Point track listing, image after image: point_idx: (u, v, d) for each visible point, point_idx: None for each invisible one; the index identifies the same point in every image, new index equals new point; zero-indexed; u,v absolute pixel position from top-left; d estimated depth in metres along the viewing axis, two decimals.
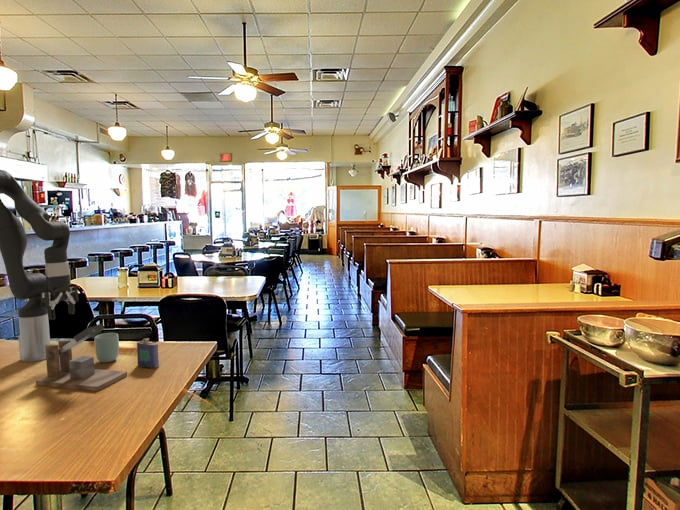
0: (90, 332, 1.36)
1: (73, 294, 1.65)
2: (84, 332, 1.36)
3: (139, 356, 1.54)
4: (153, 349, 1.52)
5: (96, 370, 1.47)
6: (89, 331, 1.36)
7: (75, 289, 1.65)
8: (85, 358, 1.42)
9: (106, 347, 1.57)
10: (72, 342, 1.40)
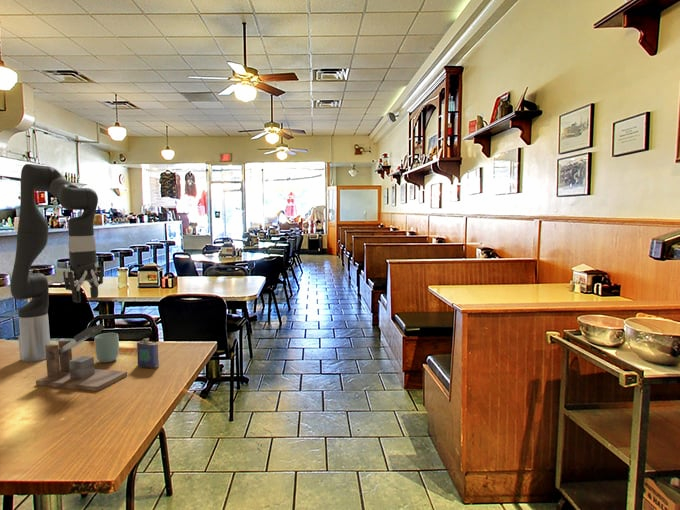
0: (90, 332, 1.36)
1: (97, 275, 1.43)
2: (84, 332, 1.36)
3: (139, 356, 1.54)
4: (153, 349, 1.52)
5: (96, 370, 1.47)
6: (89, 331, 1.36)
7: (101, 269, 1.43)
8: (85, 358, 1.42)
9: (106, 347, 1.57)
10: (72, 342, 1.40)
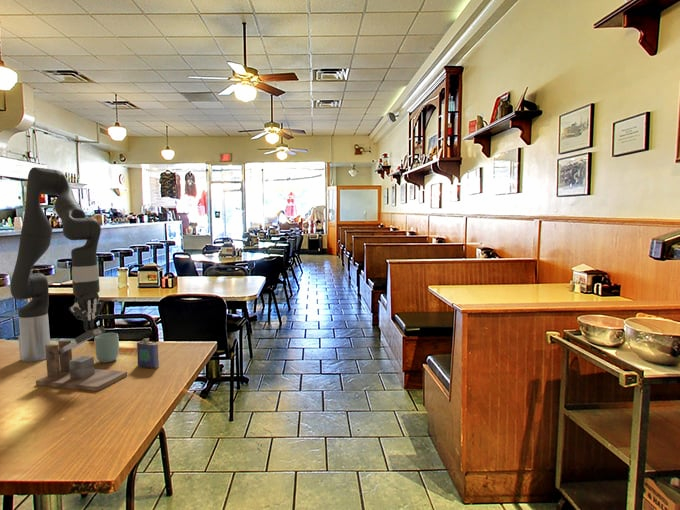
0: (91, 334, 1.36)
1: (97, 306, 1.42)
2: (85, 334, 1.36)
3: (139, 356, 1.54)
4: (153, 349, 1.52)
5: (96, 370, 1.47)
6: (90, 333, 1.36)
7: (102, 302, 1.43)
8: (85, 358, 1.42)
9: (106, 347, 1.57)
10: (73, 343, 1.40)
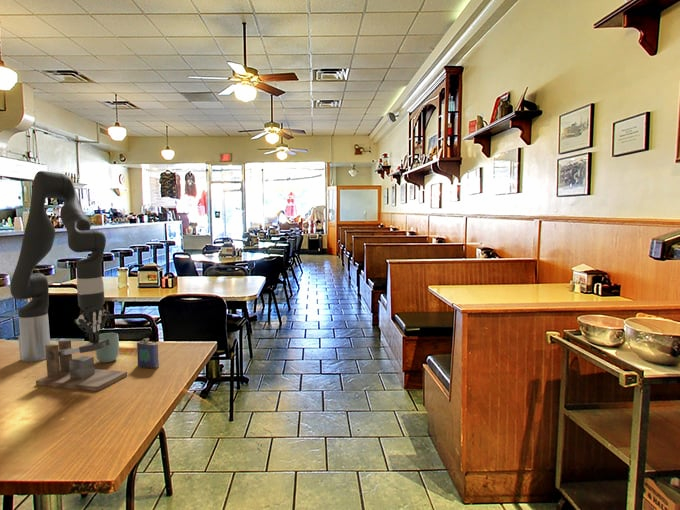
0: (96, 348, 1.36)
1: (102, 318, 1.42)
2: (90, 347, 1.36)
3: (139, 356, 1.54)
4: (153, 349, 1.52)
5: (96, 370, 1.47)
6: (95, 347, 1.36)
7: (107, 313, 1.43)
8: (85, 358, 1.42)
9: (106, 347, 1.57)
10: (75, 350, 1.40)
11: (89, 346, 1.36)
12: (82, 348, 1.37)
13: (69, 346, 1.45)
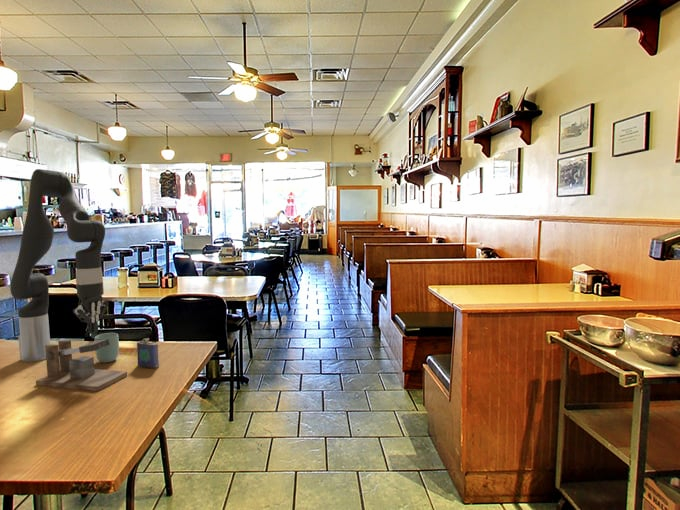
0: (96, 348, 1.36)
1: (100, 309, 1.42)
2: (90, 347, 1.36)
3: (139, 356, 1.54)
4: (153, 349, 1.52)
5: (96, 370, 1.47)
6: (95, 347, 1.36)
7: (106, 304, 1.43)
8: (85, 358, 1.42)
9: (106, 347, 1.57)
10: (75, 350, 1.40)
11: (89, 346, 1.36)
12: (82, 348, 1.37)
13: (69, 346, 1.45)
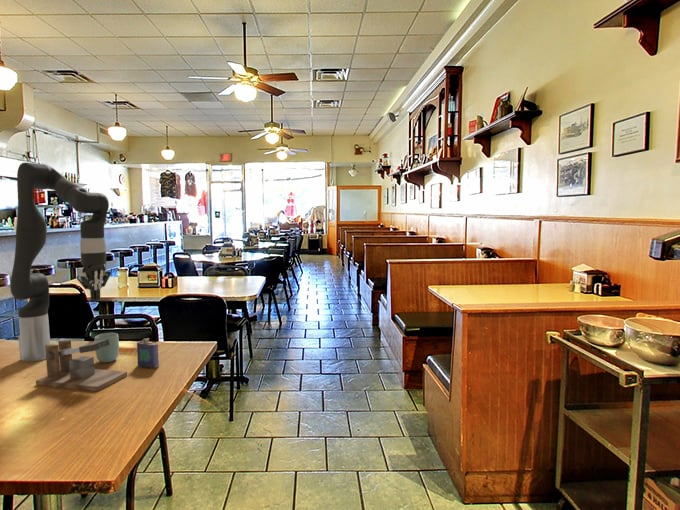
0: (96, 348, 1.36)
1: (103, 278, 1.49)
2: (90, 347, 1.36)
3: (139, 356, 1.54)
4: (153, 349, 1.52)
5: (96, 370, 1.47)
6: (95, 347, 1.36)
7: (108, 274, 1.50)
8: (85, 358, 1.42)
9: (106, 347, 1.57)
10: (75, 350, 1.40)
11: (89, 346, 1.36)
12: (82, 348, 1.37)
13: (69, 346, 1.45)
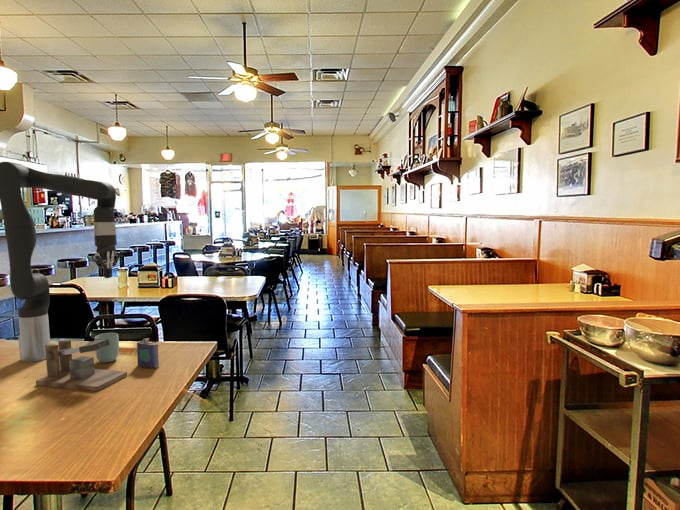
0: (96, 348, 1.36)
1: (114, 258, 1.68)
2: (90, 347, 1.36)
3: (139, 356, 1.54)
4: (153, 349, 1.52)
5: (96, 370, 1.47)
6: (95, 347, 1.36)
7: (118, 254, 1.69)
8: (85, 358, 1.42)
9: (106, 347, 1.57)
10: (75, 350, 1.40)
11: (89, 346, 1.36)
12: (82, 348, 1.37)
13: (69, 346, 1.45)
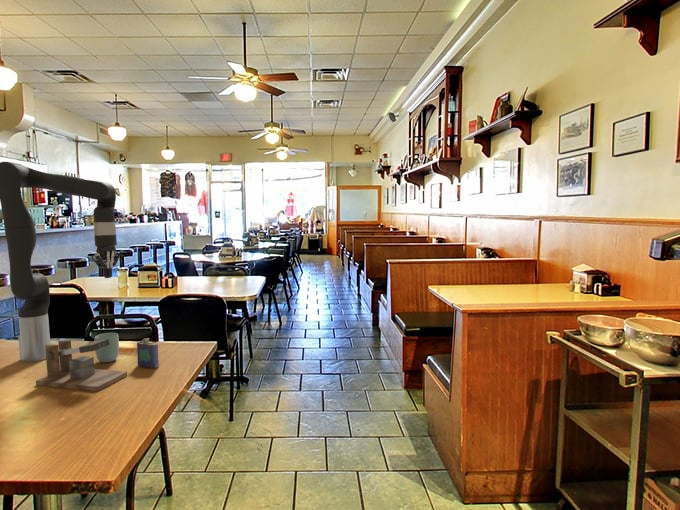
0: (96, 348, 1.36)
1: (114, 258, 1.68)
2: (90, 347, 1.36)
3: (139, 356, 1.54)
4: (153, 349, 1.52)
5: (96, 370, 1.47)
6: (95, 347, 1.36)
7: (118, 254, 1.69)
8: (85, 358, 1.42)
9: (106, 347, 1.57)
10: (75, 350, 1.40)
11: (89, 346, 1.36)
12: (82, 348, 1.37)
13: (69, 346, 1.45)
